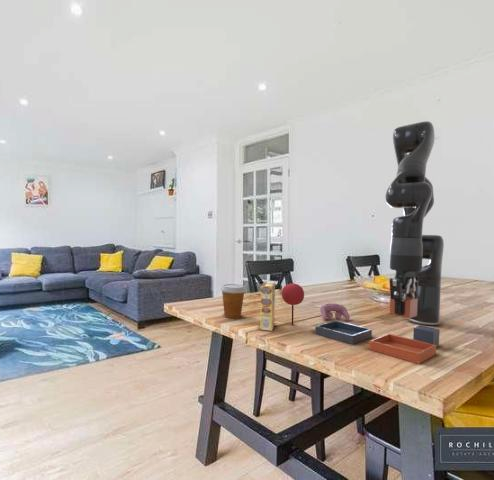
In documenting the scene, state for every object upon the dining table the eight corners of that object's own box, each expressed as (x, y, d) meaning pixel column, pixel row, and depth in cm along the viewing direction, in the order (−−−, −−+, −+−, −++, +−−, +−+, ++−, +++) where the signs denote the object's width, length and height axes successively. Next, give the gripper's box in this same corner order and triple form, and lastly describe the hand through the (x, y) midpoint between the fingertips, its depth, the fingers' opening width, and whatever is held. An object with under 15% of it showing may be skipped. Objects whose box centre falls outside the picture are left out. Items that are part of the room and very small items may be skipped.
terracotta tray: (388, 341, 102) (388, 333, 102) (436, 354, 92) (436, 345, 92) (369, 349, 95) (369, 340, 95) (418, 363, 85) (419, 354, 85)
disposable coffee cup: (218, 313, 134) (218, 283, 133) (241, 313, 135) (241, 283, 134) (223, 319, 124) (224, 288, 124) (248, 319, 125) (248, 288, 125)
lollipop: (303, 323, 121) (304, 282, 121) (303, 329, 114) (304, 286, 113) (281, 320, 124) (282, 281, 123) (280, 326, 116) (281, 284, 116)
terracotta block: (397, 312, 97) (397, 295, 97) (417, 315, 93) (417, 298, 93) (389, 314, 94) (390, 297, 94) (409, 318, 90) (410, 300, 90)
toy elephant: (346, 322, 128) (343, 305, 131) (351, 320, 124) (348, 302, 127) (320, 321, 129) (318, 304, 132) (324, 319, 125) (321, 301, 128)
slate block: (419, 340, 103) (420, 325, 103) (438, 345, 99) (439, 329, 99) (412, 343, 101) (413, 327, 100) (432, 348, 96) (433, 332, 96)
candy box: (272, 331, 111) (273, 286, 110) (259, 329, 112) (260, 285, 112) (274, 324, 119) (275, 282, 118) (262, 323, 120) (263, 281, 120)
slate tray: (335, 327, 116) (335, 320, 116) (371, 337, 106) (372, 329, 106) (315, 333, 109) (315, 325, 109) (352, 344, 99) (352, 335, 99)
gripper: (410, 255, 86) (408, 320, 86) (431, 253, 94) (428, 312, 94) (379, 253, 92) (377, 313, 92) (401, 252, 100) (399, 307, 101)
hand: (403, 313), depth 93 cm, fingers closed on terracotta block, 5 cm apart
